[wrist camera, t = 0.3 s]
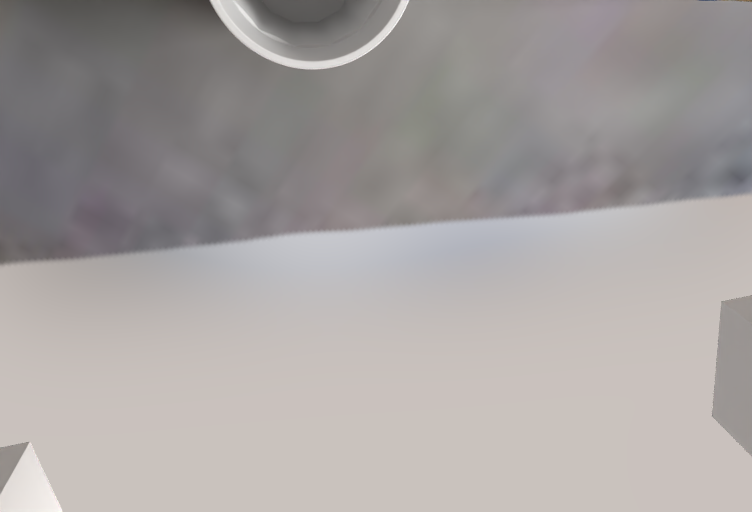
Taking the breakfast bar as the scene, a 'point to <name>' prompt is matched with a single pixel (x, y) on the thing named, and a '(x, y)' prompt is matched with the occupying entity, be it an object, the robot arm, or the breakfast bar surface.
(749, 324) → the robot arm
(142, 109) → the breakfast bar surface
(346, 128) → the breakfast bar surface
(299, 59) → the cup
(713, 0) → the beverage bottle
